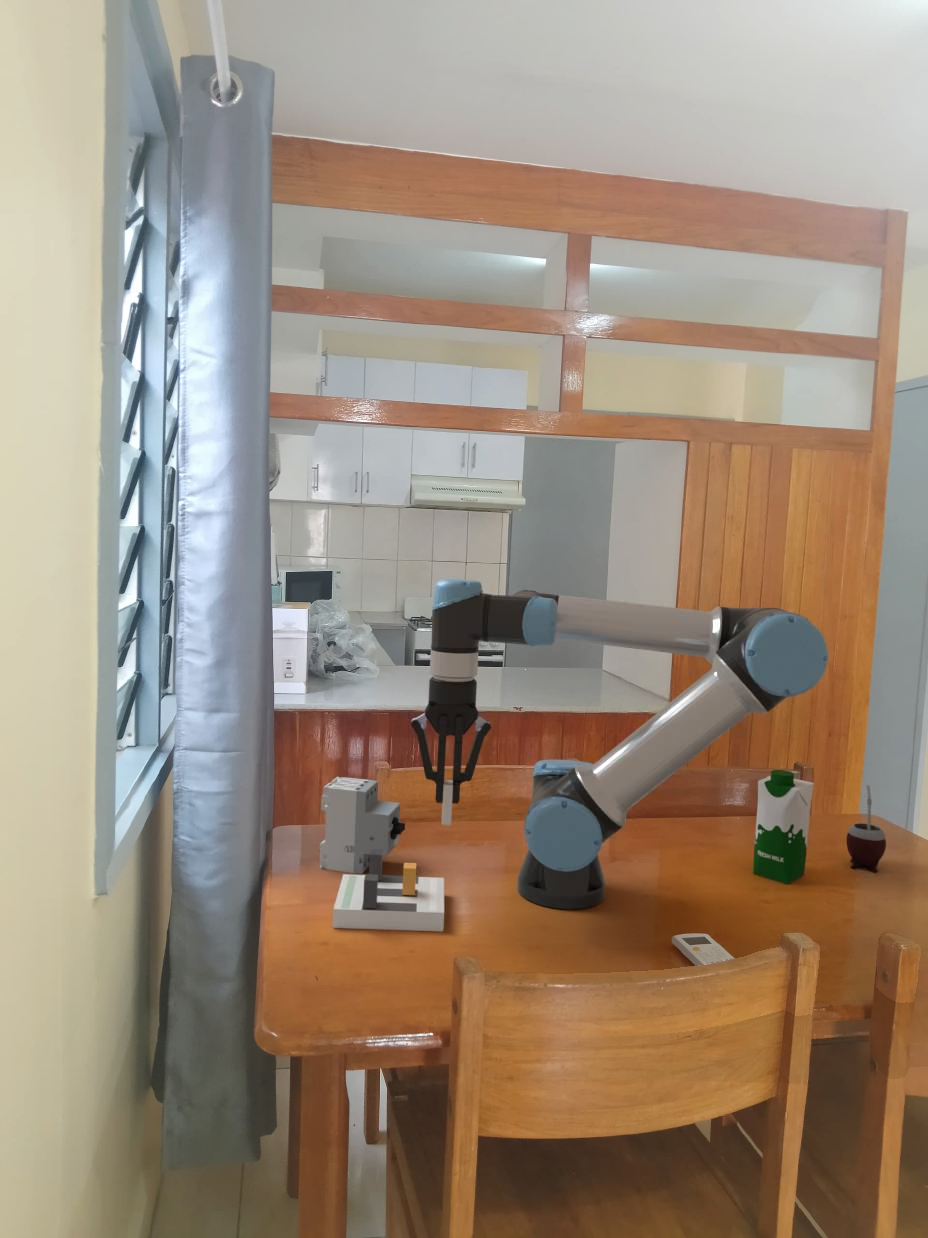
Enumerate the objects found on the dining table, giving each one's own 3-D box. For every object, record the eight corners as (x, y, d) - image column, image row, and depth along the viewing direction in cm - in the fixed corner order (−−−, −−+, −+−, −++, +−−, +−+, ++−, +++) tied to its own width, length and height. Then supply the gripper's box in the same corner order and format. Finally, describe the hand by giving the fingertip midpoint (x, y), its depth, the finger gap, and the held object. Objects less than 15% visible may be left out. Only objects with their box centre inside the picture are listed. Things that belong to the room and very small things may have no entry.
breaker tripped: (415, 889, 145) (416, 863, 145) (414, 895, 143) (415, 868, 142) (403, 889, 145) (404, 862, 145) (402, 895, 143) (403, 868, 142)
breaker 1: (381, 875, 150) (382, 850, 150) (380, 880, 148) (381, 855, 148) (369, 874, 150) (370, 849, 150) (368, 880, 148) (369, 854, 147)
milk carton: (746, 873, 168) (754, 769, 166) (766, 862, 174) (775, 762, 173) (791, 887, 162) (800, 780, 160) (811, 875, 168) (820, 772, 167)
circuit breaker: (395, 878, 158) (398, 795, 156) (319, 868, 160) (321, 787, 159) (406, 863, 165) (410, 784, 164) (333, 854, 168) (336, 776, 166)
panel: (443, 895, 151) (443, 877, 151) (443, 931, 137) (444, 912, 137) (342, 891, 151) (343, 874, 150) (332, 928, 137) (333, 908, 137)
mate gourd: (864, 875, 170) (871, 798, 168) (833, 861, 177) (839, 787, 176) (893, 871, 172) (900, 796, 171) (861, 857, 180) (868, 784, 178)
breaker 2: (377, 902, 139) (378, 874, 139) (376, 908, 137) (377, 880, 137) (364, 901, 139) (365, 874, 139) (363, 908, 137) (364, 880, 137)
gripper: (493, 675, 145) (485, 816, 147) (412, 671, 144) (406, 813, 146) (496, 683, 137) (488, 832, 139) (411, 679, 137) (404, 828, 139)
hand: (446, 822), depth 143 cm, fingers closed
